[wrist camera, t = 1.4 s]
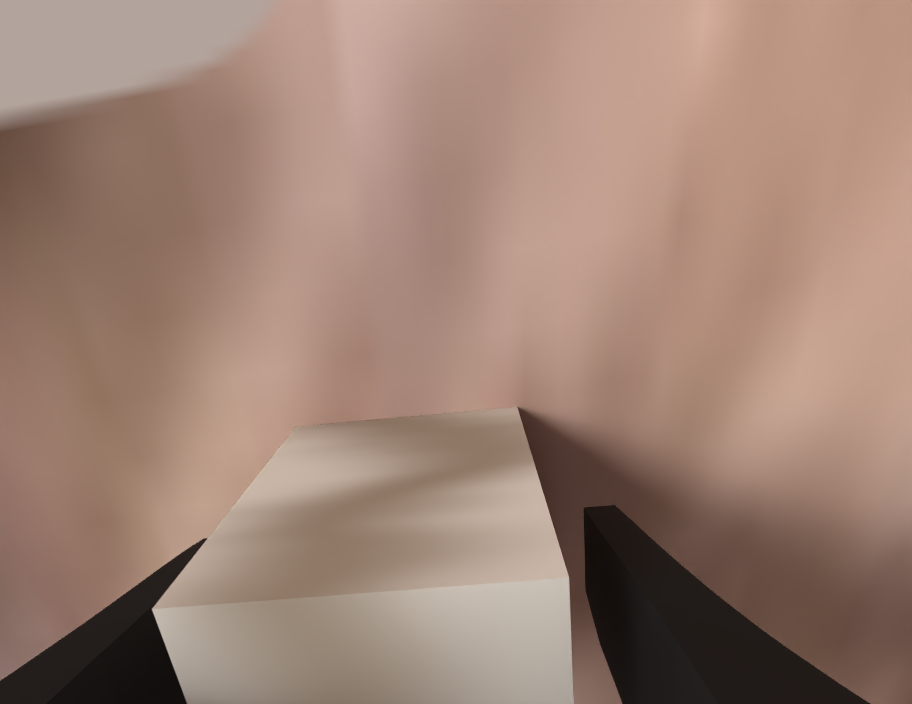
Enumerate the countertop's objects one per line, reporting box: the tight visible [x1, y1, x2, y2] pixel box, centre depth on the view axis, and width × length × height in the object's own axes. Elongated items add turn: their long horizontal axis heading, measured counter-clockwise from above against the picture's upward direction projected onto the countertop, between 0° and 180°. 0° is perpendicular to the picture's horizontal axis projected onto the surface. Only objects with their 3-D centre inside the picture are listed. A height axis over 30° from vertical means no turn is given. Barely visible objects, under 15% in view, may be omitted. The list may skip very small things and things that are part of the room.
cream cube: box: [152, 407, 574, 704], centre depth 8 cm, size 5×5×5 cm
